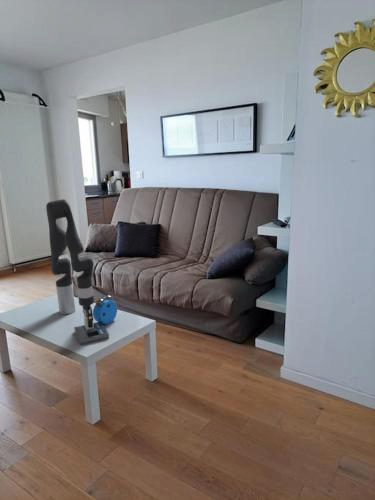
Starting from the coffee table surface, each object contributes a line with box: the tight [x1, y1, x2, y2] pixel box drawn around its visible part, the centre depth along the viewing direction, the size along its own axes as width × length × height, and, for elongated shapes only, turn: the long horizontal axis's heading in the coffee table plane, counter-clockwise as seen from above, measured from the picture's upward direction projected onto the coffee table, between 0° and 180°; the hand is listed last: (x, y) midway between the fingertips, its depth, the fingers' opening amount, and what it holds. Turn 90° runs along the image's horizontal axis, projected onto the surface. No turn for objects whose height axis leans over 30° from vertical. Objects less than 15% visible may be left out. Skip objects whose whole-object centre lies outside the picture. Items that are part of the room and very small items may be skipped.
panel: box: [74, 321, 110, 346], centre depth 178 cm, size 17×14×3 cm
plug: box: [83, 316, 94, 330], centre depth 181 cm, size 4×4×9 cm
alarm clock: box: [92, 294, 118, 325], centre depth 192 cm, size 13×6×15 cm, turn 147°
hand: (88, 324), depth 181 cm, fingers open, 8 cm apart
